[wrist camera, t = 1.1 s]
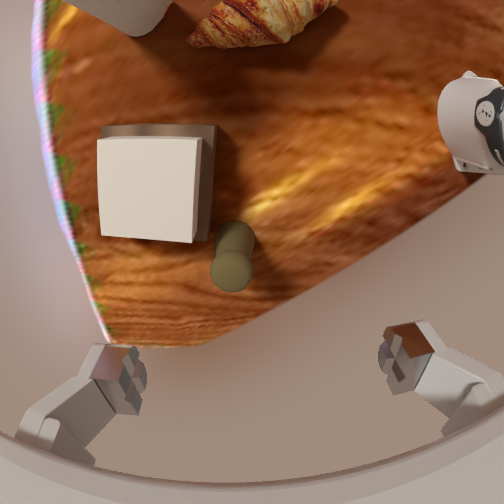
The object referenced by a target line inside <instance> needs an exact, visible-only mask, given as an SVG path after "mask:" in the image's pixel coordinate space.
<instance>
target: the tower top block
mask: <svg viewBox="0 0 504 504" xmlns="http://www.w3.org/2000/svg"><path fill="white" fill-rule="evenodd" d="M201 151H202V138H200V137H175V136H118V137H108V138H103V139H99V140H97V174H98V198H99V213H100V225H101V235H105V236H117V237H129V238H140V239H152V240H163V241H175V242H186V243H192V241H193V239H194V237H195V234H196V232H197V219H198V198H199V180H200V165H201Z"/></svg>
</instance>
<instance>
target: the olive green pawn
mask: <svg viewBox="0 0 504 504" xmlns="http://www.w3.org/2000/svg"><path fill="white" fill-rule="evenodd" d="M254 245H255V236H254V232H253V231H252V229H251V228H250V227H249V226H248V225H247V224H245V223H243V222H240V221H229V222H226V223H224V224H223V225H221V226H220V227H219V228H218V230H217V231H216V234H215V254H216V257H215V259H214V260H213V262H212V264H211V267H210V275H211V278H212V281H213V282H214V284H215V285H216V286H217V287H218V288H220V289H221V290H223V291H226V292H238V291H241V290H243V289H245V288H246V287H247V286H248V285H249V284H250V282H251V280H252V278H253V273H254V269H253V265H252V262H251V256H252V252H253V249H254Z"/></svg>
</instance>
